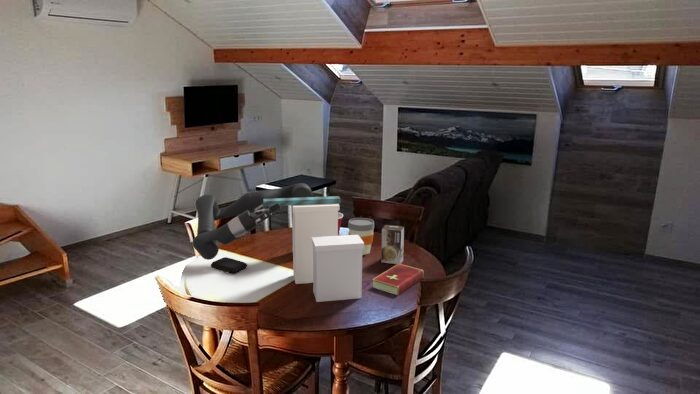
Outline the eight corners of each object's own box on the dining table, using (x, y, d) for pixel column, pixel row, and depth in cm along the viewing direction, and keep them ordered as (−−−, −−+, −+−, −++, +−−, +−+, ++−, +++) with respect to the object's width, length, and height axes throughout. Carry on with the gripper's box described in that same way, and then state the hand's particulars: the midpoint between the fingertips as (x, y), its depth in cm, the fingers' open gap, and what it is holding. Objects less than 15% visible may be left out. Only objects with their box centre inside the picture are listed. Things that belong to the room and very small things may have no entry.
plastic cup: (320, 239, 241) (320, 216, 238) (324, 232, 252) (324, 211, 249) (341, 240, 239) (341, 218, 237) (344, 234, 250) (345, 212, 247)
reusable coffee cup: (360, 245, 233) (361, 216, 230) (379, 251, 225) (380, 221, 221) (342, 251, 225) (342, 221, 221) (360, 258, 216) (361, 227, 213)
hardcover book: (423, 279, 196) (423, 269, 195) (397, 296, 179) (398, 286, 178) (398, 271, 203) (398, 262, 202) (371, 288, 186) (371, 278, 185)
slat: (263, 206, 180) (263, 201, 180) (263, 203, 184) (263, 198, 184) (340, 203, 187) (340, 198, 186) (338, 200, 190) (338, 196, 190)
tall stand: (294, 284, 188) (293, 207, 180) (292, 274, 197) (290, 200, 189) (338, 281, 191) (339, 205, 184) (334, 271, 201) (334, 199, 193)
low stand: (315, 302, 173) (315, 246, 167) (311, 291, 182) (311, 237, 177) (363, 298, 176) (364, 243, 171) (357, 287, 186) (358, 234, 181)
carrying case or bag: (206, 269, 202) (231, 277, 195) (206, 262, 201) (231, 270, 194) (225, 261, 211) (249, 268, 203) (224, 255, 210) (249, 262, 203)
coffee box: (403, 260, 215) (405, 226, 211) (400, 265, 209) (401, 230, 205) (384, 257, 218) (385, 224, 214) (380, 262, 212) (381, 228, 208)
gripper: (236, 221, 174) (274, 199, 175) (237, 211, 188) (272, 190, 189) (247, 237, 177) (285, 215, 178) (247, 226, 190) (282, 205, 191)
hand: (278, 202), depth 183 cm, fingers open, 8 cm apart
